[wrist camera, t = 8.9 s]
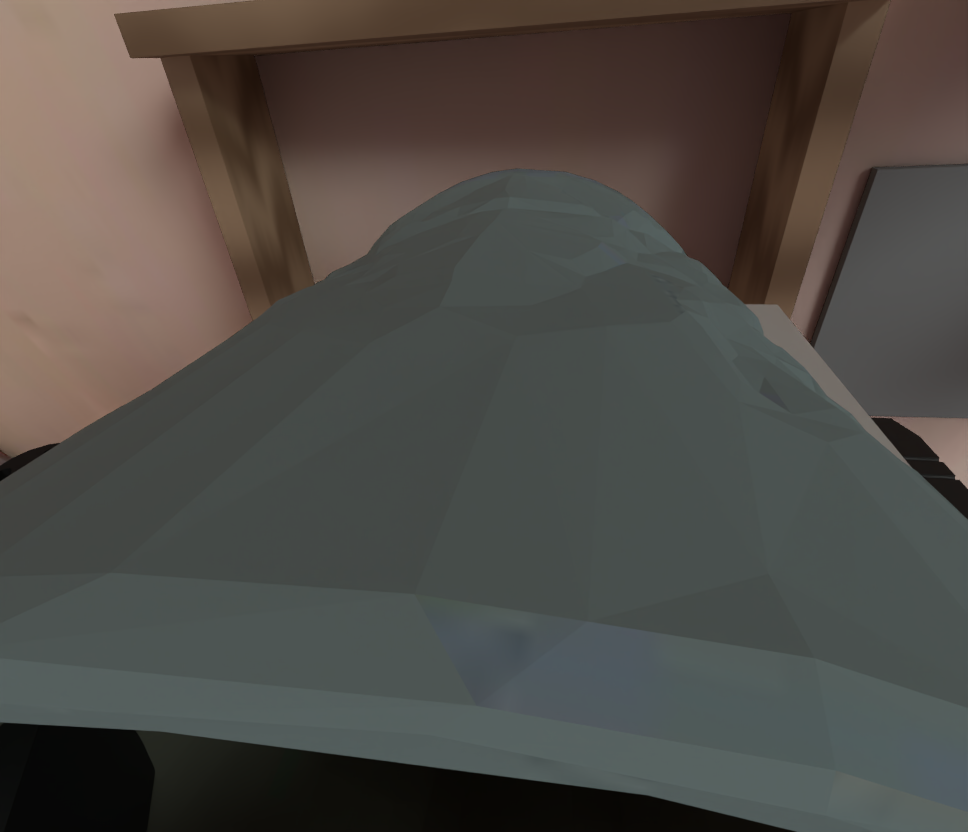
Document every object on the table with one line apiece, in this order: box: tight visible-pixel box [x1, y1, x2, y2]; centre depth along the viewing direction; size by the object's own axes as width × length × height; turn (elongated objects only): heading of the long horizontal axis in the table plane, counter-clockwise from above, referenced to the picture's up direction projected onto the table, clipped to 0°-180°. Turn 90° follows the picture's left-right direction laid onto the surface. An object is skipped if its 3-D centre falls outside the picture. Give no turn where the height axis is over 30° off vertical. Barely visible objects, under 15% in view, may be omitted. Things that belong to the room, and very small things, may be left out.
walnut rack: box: [114, 0, 891, 321], centre depth 29 cm, size 24×31×8 cm
